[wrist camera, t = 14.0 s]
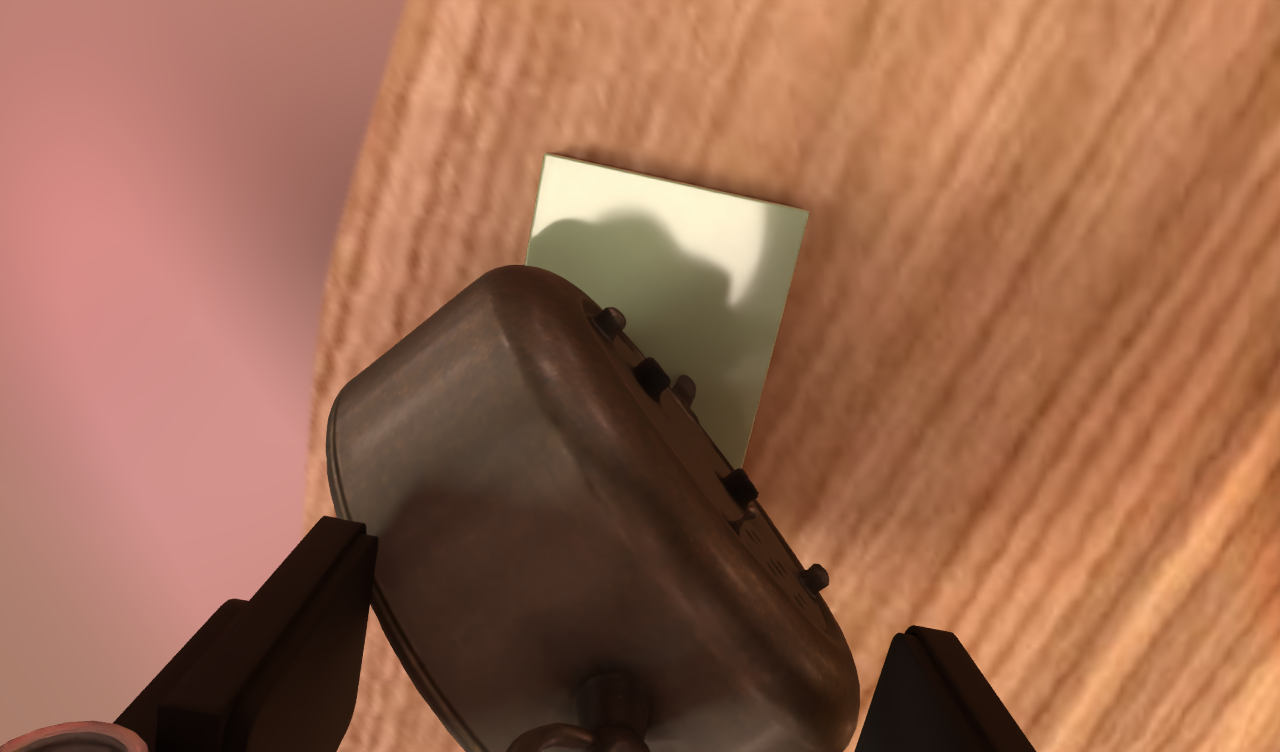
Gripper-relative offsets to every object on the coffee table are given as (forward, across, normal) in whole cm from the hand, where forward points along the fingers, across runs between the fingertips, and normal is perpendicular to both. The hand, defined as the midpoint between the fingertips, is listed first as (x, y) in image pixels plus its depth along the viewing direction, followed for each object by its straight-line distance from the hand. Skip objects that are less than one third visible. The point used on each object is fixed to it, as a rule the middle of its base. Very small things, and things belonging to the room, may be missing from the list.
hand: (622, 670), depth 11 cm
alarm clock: (+11, 0, 0) cm, 11 cm away
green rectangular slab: (+12, 0, 0) cm, 12 cm away
